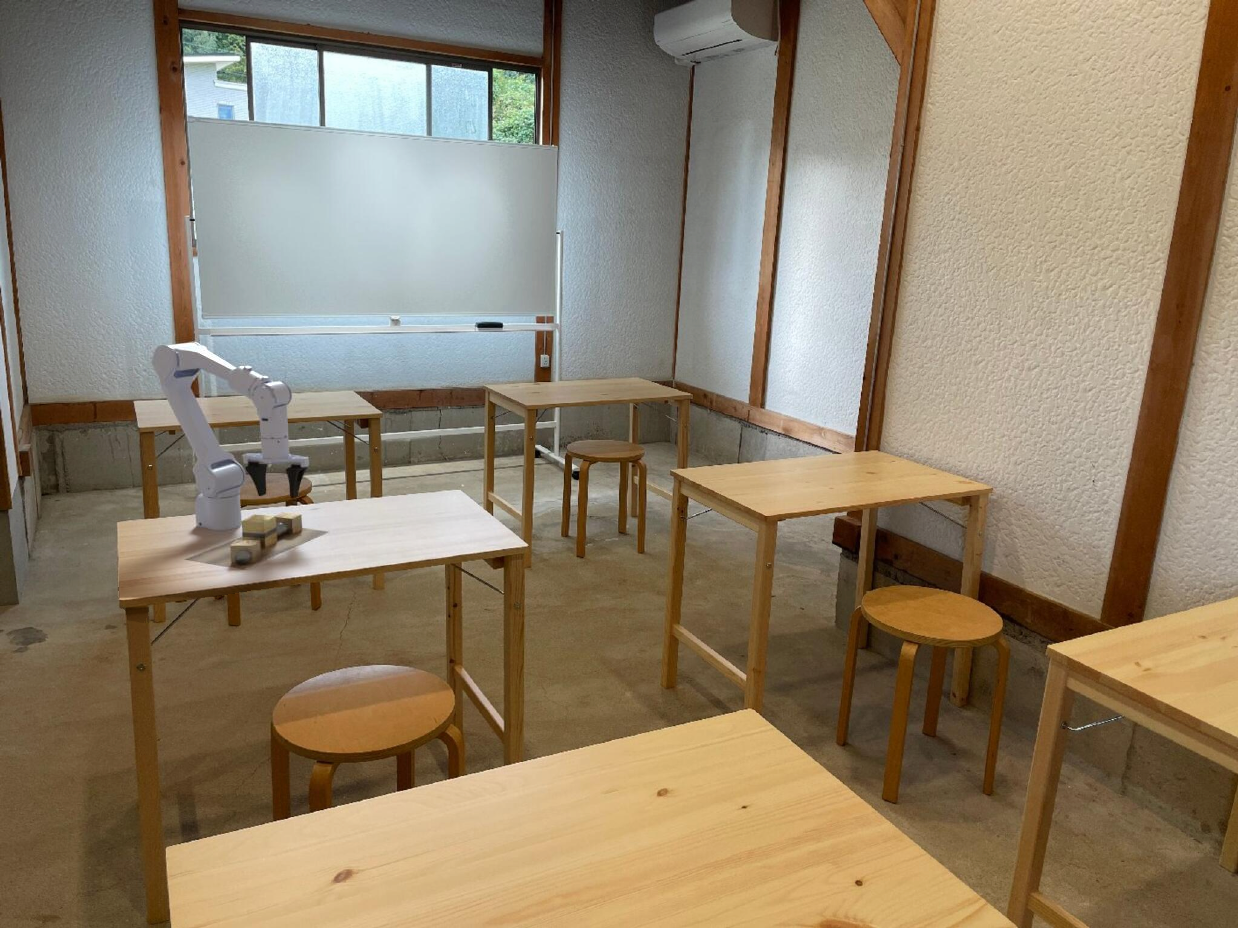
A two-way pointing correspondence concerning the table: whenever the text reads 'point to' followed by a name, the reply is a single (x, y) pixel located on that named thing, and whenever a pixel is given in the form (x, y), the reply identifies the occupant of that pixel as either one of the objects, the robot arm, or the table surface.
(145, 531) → the table surface
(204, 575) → the table surface
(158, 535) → the table surface
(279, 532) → the shaft
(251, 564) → the board
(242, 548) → the shaft
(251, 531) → the tan wooden block
